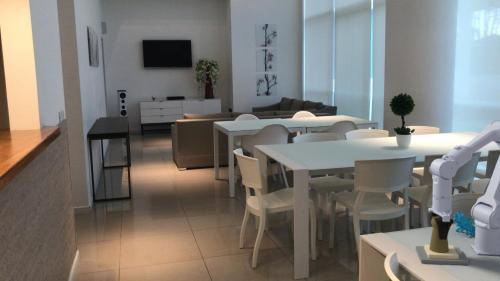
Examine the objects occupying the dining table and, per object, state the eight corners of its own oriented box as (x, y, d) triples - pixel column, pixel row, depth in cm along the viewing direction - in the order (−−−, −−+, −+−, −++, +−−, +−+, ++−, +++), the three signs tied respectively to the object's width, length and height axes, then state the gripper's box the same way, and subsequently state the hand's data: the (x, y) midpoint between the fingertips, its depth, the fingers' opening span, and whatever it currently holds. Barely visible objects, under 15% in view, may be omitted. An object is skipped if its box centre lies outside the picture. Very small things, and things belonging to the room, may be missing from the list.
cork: (426, 246, 159) (426, 215, 158) (443, 245, 160) (444, 214, 158) (434, 253, 153) (435, 220, 152) (452, 252, 154) (453, 219, 152)
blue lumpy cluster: (466, 235, 171) (451, 211, 177) (454, 243, 175) (440, 219, 181) (485, 233, 177) (470, 210, 182) (473, 241, 181) (459, 218, 186)
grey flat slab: (458, 250, 161) (459, 243, 161) (468, 265, 150) (468, 257, 149) (415, 249, 164) (415, 242, 164) (421, 263, 152) (421, 255, 152)
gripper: (425, 190, 162) (424, 228, 164) (433, 201, 148) (432, 243, 150) (447, 190, 160) (446, 229, 162) (457, 202, 146) (456, 244, 148)
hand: (441, 236), depth 156 cm, fingers closed on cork, 5 cm apart
